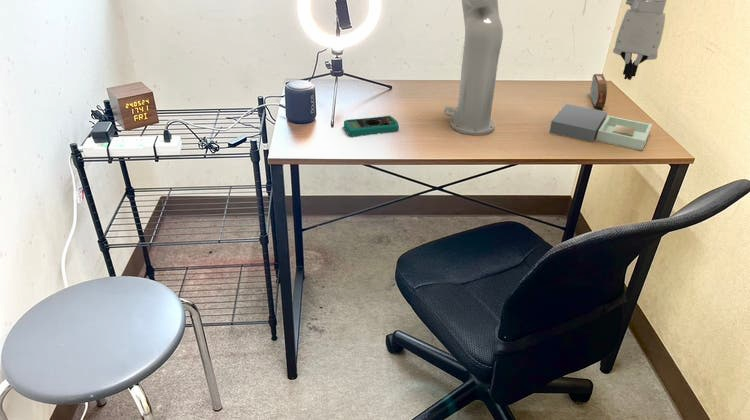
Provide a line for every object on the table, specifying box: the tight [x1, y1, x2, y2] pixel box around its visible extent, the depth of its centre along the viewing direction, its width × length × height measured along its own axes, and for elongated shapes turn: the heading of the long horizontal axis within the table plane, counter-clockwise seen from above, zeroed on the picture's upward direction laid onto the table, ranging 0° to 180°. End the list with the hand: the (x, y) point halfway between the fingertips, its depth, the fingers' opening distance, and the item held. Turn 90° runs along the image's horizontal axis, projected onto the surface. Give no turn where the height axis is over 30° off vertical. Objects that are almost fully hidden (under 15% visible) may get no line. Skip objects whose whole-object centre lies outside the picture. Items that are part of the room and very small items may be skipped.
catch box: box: [595, 115, 653, 152], centre depth 154 cm, size 12×13×3 cm
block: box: [613, 125, 635, 137], centre depth 154 cm, size 5×5×2 cm
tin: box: [590, 73, 608, 109], centre depth 175 cm, size 15×3×8 cm, turn 168°
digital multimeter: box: [343, 115, 399, 138], centre depth 156 cm, size 7×15×3 cm, turn 107°
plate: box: [548, 103, 608, 143], centre depth 159 cm, size 12×16×4 cm
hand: (628, 78), depth 147 cm, fingers closed
